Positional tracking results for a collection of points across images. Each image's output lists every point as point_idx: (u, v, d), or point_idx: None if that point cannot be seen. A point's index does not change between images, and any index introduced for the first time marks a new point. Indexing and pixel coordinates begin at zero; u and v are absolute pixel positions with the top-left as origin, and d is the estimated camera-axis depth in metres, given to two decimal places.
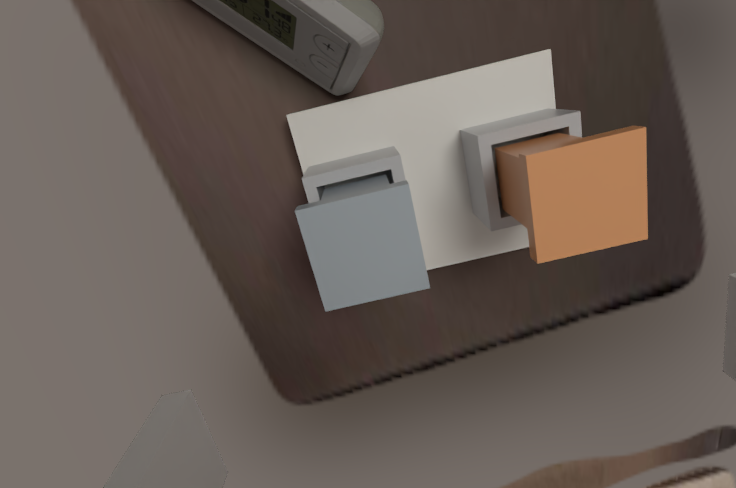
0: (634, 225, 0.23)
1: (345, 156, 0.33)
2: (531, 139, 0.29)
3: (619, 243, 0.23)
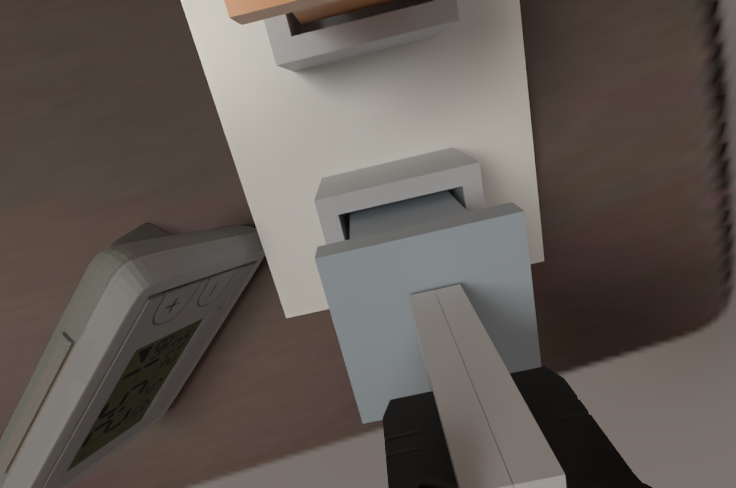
0: None
1: None
2: None
3: None
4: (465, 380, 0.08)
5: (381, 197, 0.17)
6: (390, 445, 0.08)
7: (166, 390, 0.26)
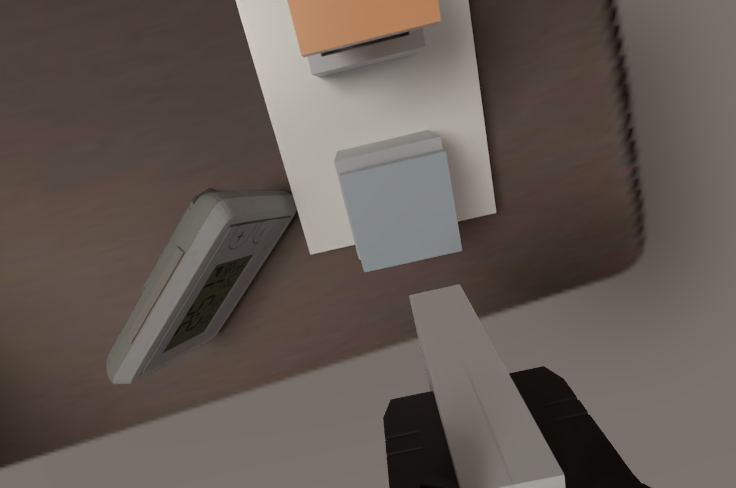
0: None
1: None
2: None
3: None
4: (466, 380, 0.08)
5: (377, 159, 0.27)
6: (391, 445, 0.08)
7: (222, 310, 0.35)
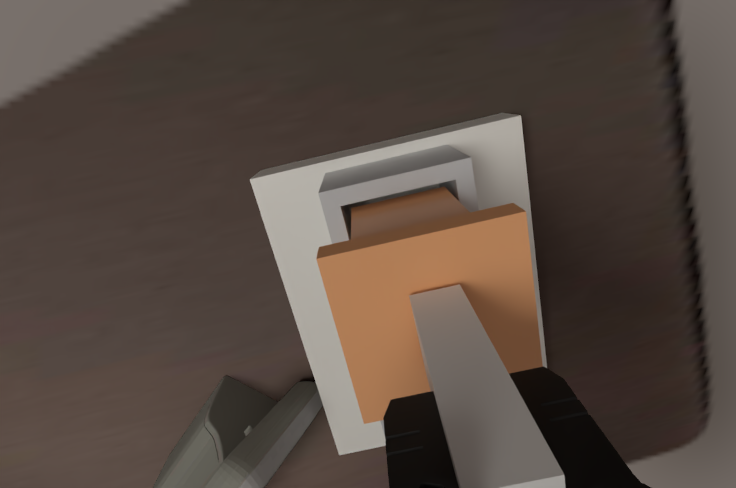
0: (495, 242, 0.12)
1: None
2: None
3: (528, 262, 0.12)
4: (465, 380, 0.08)
5: None
6: (391, 445, 0.08)
7: None
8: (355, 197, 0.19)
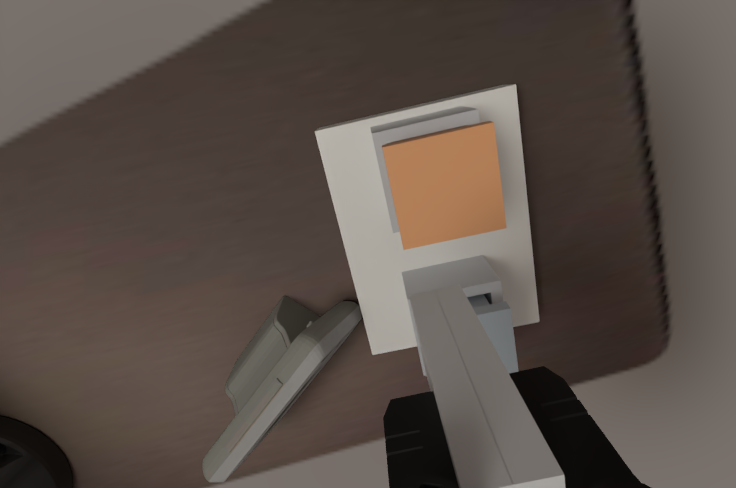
0: (477, 139, 0.23)
1: (409, 311, 0.37)
2: None
3: (495, 151, 0.23)
4: (466, 380, 0.08)
5: None
6: (391, 445, 0.08)
7: (292, 403, 0.40)
8: (397, 137, 0.27)
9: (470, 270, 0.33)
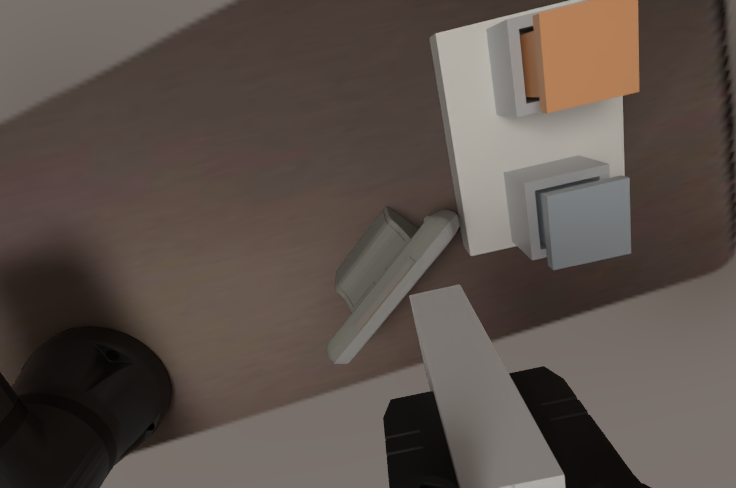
0: (622, 5, 0.26)
1: (507, 212, 0.40)
2: None
3: (636, 16, 0.26)
4: (465, 380, 0.08)
5: (558, 181, 0.34)
6: (391, 445, 0.08)
7: None
8: (528, 22, 0.30)
9: (573, 163, 0.36)
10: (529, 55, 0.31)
